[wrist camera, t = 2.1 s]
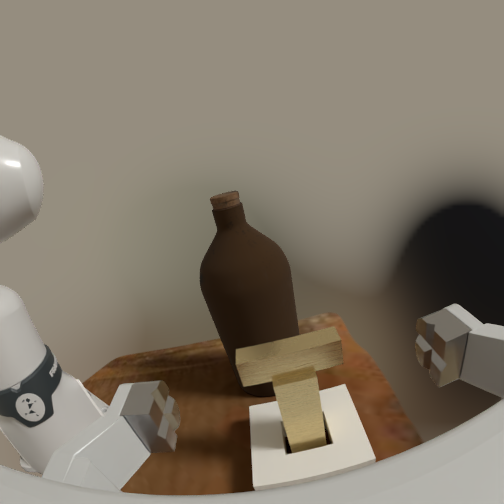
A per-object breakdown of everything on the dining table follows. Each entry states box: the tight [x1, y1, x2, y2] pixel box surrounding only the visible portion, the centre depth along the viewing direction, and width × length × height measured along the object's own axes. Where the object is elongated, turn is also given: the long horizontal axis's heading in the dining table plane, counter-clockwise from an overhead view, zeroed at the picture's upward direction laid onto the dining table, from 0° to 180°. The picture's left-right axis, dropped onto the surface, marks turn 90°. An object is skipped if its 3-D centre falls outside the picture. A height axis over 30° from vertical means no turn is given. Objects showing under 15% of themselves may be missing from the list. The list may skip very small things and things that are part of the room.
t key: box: [236, 326, 343, 453], centre depth 25 cm, size 8×3×14 cm, turn 92°
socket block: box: [249, 384, 376, 491], centre depth 26 cm, size 11×11×3 cm
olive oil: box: [200, 191, 299, 396], centre depth 37 cm, size 11×11×25 cm
